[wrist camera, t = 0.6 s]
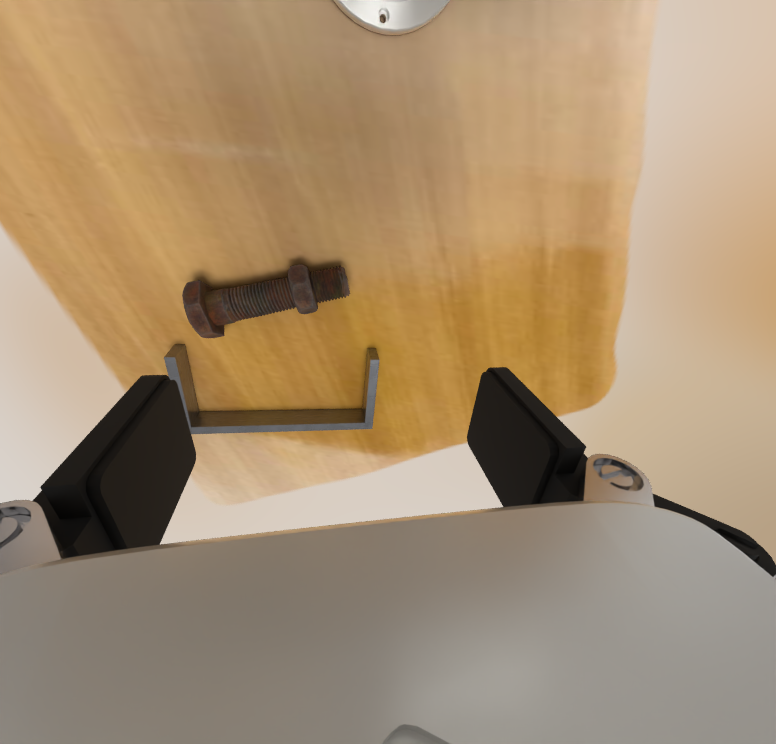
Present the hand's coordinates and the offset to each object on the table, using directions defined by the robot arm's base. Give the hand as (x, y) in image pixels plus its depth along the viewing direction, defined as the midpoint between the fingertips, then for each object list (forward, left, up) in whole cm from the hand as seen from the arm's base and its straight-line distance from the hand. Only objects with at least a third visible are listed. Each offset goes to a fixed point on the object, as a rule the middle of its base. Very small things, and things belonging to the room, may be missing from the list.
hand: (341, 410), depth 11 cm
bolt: (+5, -5, -28) cm, 29 cm away
